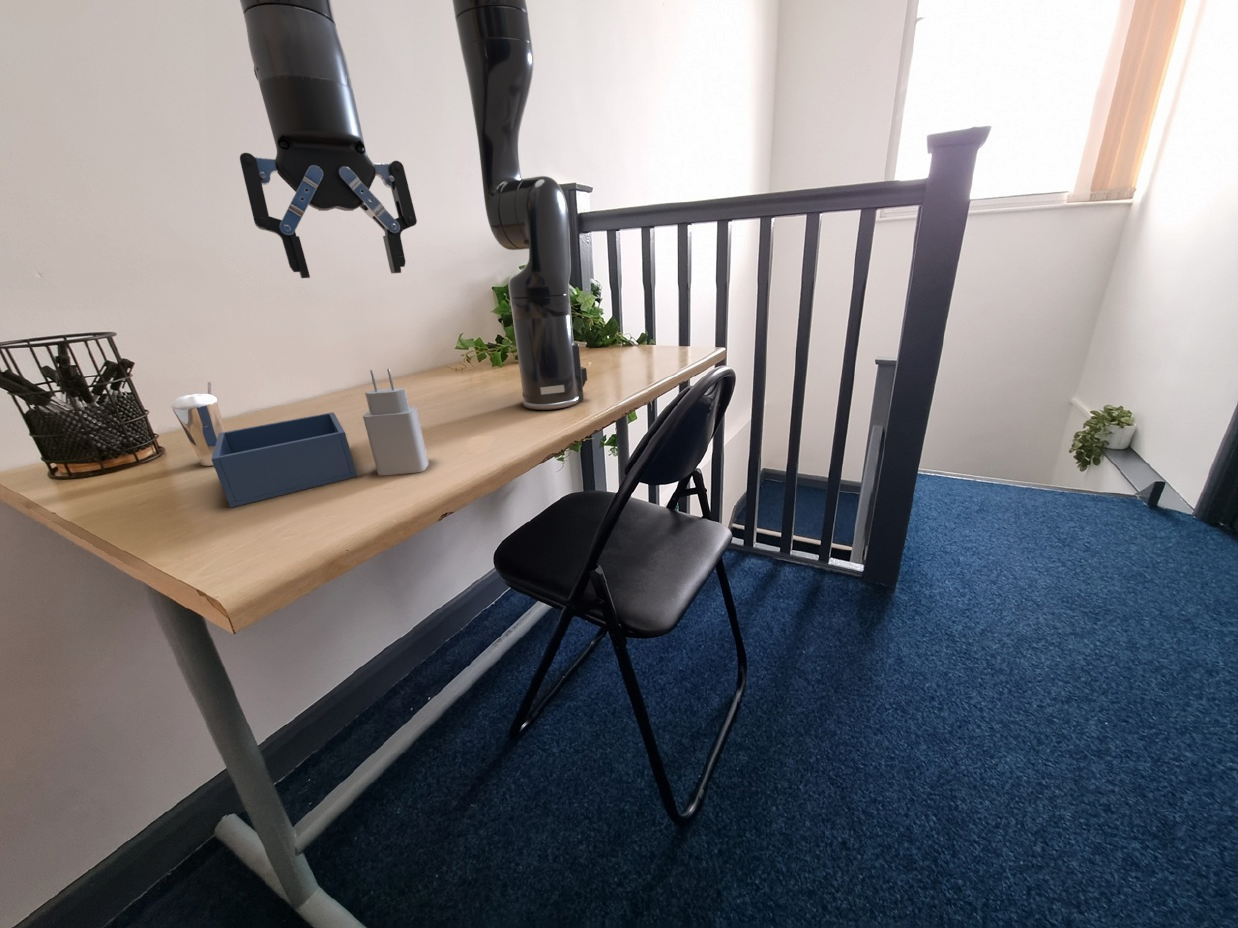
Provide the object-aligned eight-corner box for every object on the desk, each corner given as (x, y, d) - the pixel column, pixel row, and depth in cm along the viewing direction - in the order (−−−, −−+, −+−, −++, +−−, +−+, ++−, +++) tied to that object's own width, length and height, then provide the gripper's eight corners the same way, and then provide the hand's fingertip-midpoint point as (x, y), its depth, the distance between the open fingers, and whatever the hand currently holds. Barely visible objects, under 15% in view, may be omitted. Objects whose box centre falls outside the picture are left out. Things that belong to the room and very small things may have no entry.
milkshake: (251, 452, 68) (225, 381, 65) (218, 467, 63) (188, 391, 60) (221, 453, 69) (194, 382, 65) (186, 468, 64) (154, 392, 60)
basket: (344, 451, 67) (333, 412, 65) (357, 476, 58) (345, 432, 56) (234, 475, 61) (218, 433, 58) (230, 507, 52) (211, 459, 50)
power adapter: (423, 472, 58) (400, 370, 54) (375, 476, 58) (348, 374, 53) (430, 462, 61) (409, 364, 56) (385, 466, 61) (360, 368, 56)
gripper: (206, 59, 39) (272, 280, 45) (397, 83, 46) (432, 271, 52) (213, 88, 45) (271, 280, 51) (382, 105, 52) (415, 272, 58)
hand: (353, 275), depth 51 cm, fingers open, 8 cm apart
